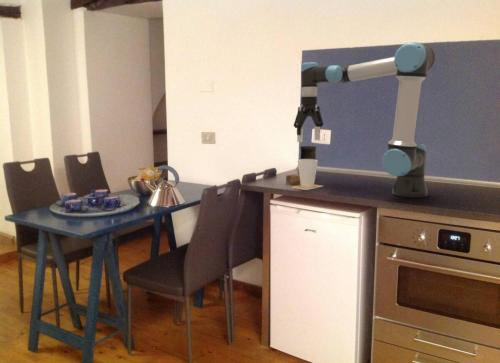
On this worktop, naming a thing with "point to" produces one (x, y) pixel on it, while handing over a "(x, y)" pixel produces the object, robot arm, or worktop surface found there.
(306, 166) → the foam cup
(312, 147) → the container
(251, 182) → the worktop surface
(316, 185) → the envelope
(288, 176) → the block
